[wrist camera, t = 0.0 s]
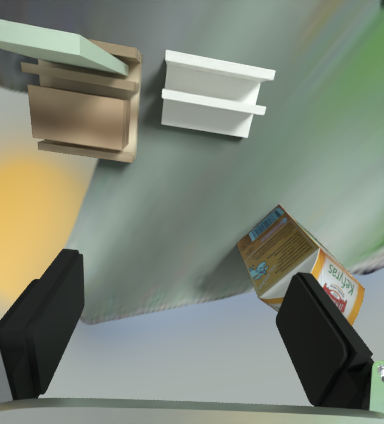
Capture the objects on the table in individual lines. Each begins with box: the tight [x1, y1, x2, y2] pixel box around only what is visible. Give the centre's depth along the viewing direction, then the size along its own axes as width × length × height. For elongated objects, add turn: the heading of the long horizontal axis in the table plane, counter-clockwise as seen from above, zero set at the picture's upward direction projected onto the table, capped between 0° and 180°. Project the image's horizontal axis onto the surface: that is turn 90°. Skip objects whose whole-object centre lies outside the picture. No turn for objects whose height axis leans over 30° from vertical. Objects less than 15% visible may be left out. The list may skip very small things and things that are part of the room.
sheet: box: [0, 20, 129, 76], centre depth 25 cm, size 1×10×18 cm, turn 81°
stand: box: [161, 50, 275, 138], centre depth 33 cm, size 9×13×6 cm
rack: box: [21, 39, 143, 163], centre depth 33 cm, size 14×13×6 cm
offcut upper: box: [28, 85, 127, 150], centre depth 32 cm, size 6×11×2 cm, turn 81°
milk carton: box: [237, 205, 365, 326], centre depth 39 cm, size 11×10×19 cm
